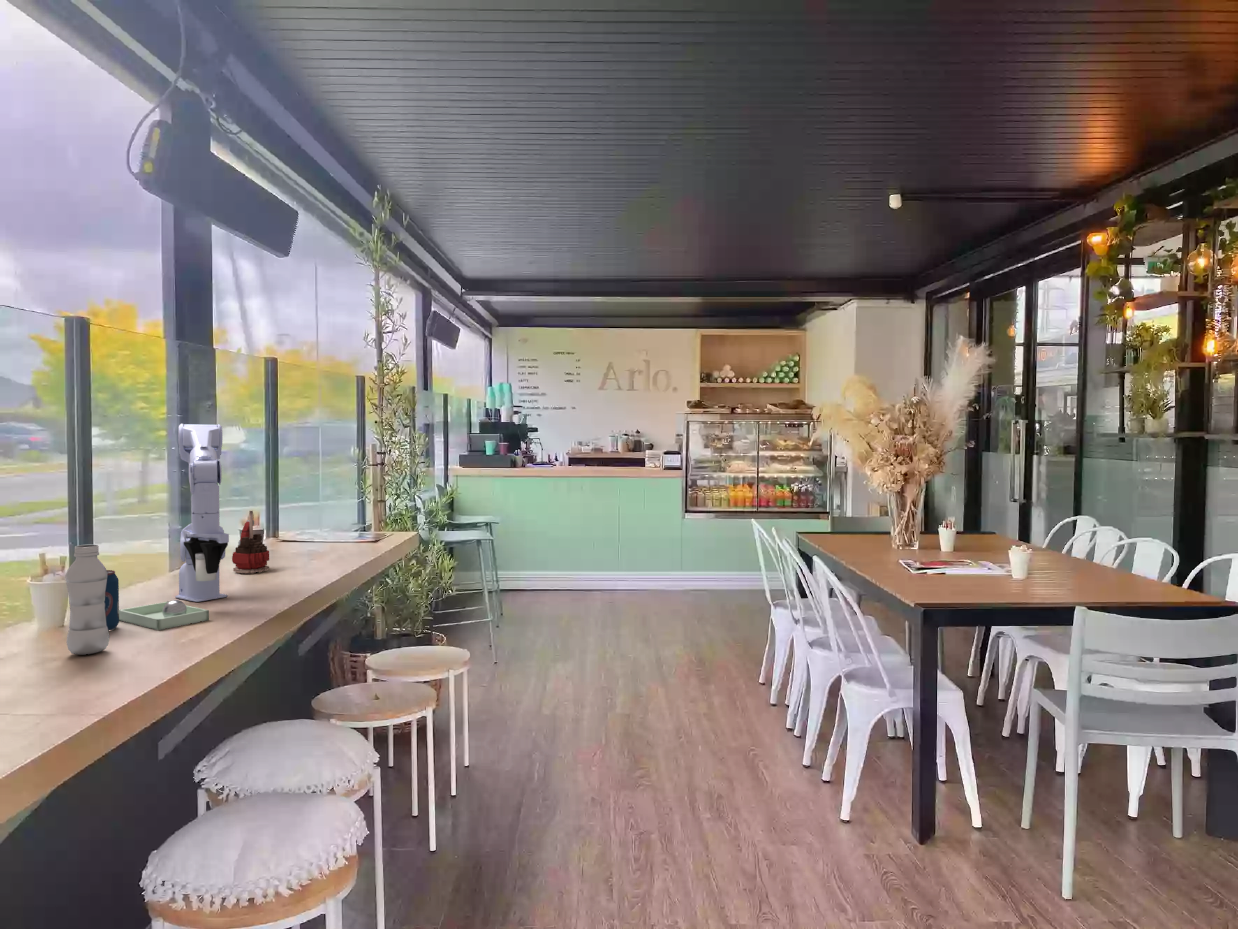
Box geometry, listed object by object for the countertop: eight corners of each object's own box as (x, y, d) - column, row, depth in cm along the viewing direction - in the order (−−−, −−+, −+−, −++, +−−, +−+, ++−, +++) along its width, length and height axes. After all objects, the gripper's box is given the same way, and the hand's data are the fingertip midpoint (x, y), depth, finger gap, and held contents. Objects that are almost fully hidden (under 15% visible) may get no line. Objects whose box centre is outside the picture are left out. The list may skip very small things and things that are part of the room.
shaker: (191, 579, 184) (191, 553, 184) (209, 577, 188) (209, 551, 187) (202, 581, 182) (202, 555, 181) (220, 579, 185) (220, 553, 185)
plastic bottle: (118, 650, 151) (116, 544, 150) (83, 660, 144) (81, 549, 144) (92, 647, 153) (91, 542, 152) (57, 656, 147) (56, 547, 146)
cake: (258, 575, 230) (258, 512, 230) (226, 575, 230) (226, 512, 230) (275, 569, 241) (275, 509, 240) (244, 568, 241) (243, 508, 240)
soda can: (77, 635, 161) (76, 576, 161) (81, 628, 168) (80, 570, 167) (117, 632, 165) (116, 573, 164) (120, 624, 171) (119, 568, 170)
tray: (117, 620, 175) (117, 610, 175) (168, 610, 184) (168, 601, 184) (158, 630, 166) (157, 619, 166) (209, 620, 176) (208, 610, 176)
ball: (159, 623, 172) (156, 602, 172) (180, 618, 176) (178, 598, 176) (170, 624, 170) (168, 602, 170) (192, 619, 174) (189, 598, 174)
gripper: (170, 512, 184) (170, 571, 185) (207, 516, 177) (208, 577, 177) (199, 510, 190) (200, 567, 191) (237, 513, 183) (237, 573, 183)
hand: (206, 572), depth 185 cm, fingers closed on shaker, 4 cm apart
